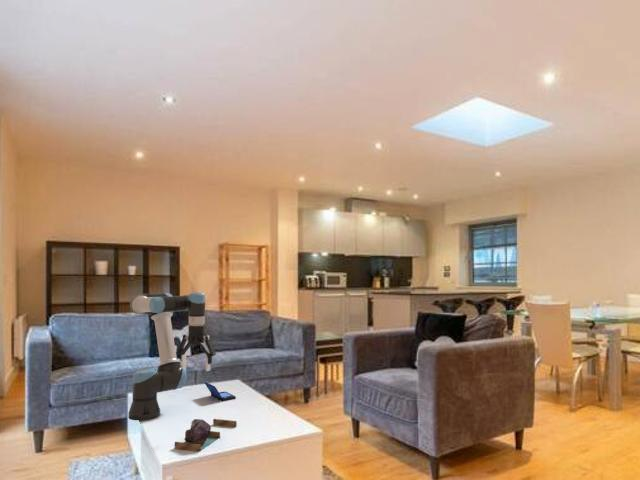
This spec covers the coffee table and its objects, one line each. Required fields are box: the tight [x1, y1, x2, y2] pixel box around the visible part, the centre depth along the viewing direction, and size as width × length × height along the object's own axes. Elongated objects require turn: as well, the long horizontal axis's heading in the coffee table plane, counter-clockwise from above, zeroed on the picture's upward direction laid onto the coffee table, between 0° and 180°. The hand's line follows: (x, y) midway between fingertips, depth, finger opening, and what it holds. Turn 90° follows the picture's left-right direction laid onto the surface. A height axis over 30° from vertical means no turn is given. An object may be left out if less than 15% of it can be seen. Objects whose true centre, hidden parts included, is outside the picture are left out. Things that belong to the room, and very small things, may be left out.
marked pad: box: [183, 437, 219, 451], centre depth 191 cm, size 12×13×1 cm
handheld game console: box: [204, 381, 236, 402], centre depth 260 cm, size 16×13×9 cm
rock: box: [183, 418, 212, 446], centre depth 191 cm, size 12×9×10 cm
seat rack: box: [174, 418, 238, 453], centre depth 199 cm, size 12×31×2 cm, turn 162°
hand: (195, 369), depth 215 cm, fingers open, 13 cm apart
